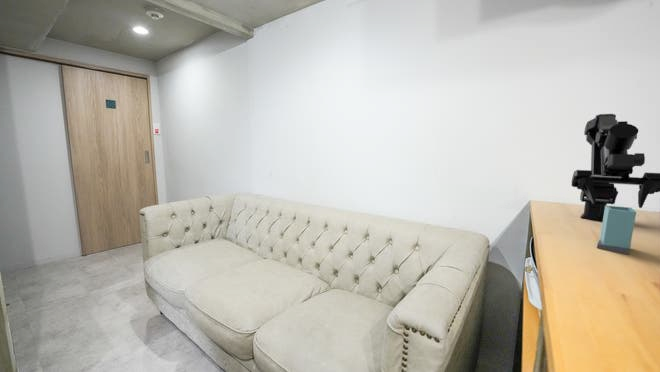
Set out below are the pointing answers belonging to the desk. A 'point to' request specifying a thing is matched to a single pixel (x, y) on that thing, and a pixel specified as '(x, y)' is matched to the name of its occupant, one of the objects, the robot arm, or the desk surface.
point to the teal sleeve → (617, 226)
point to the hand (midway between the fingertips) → (616, 205)
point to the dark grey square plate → (613, 248)
